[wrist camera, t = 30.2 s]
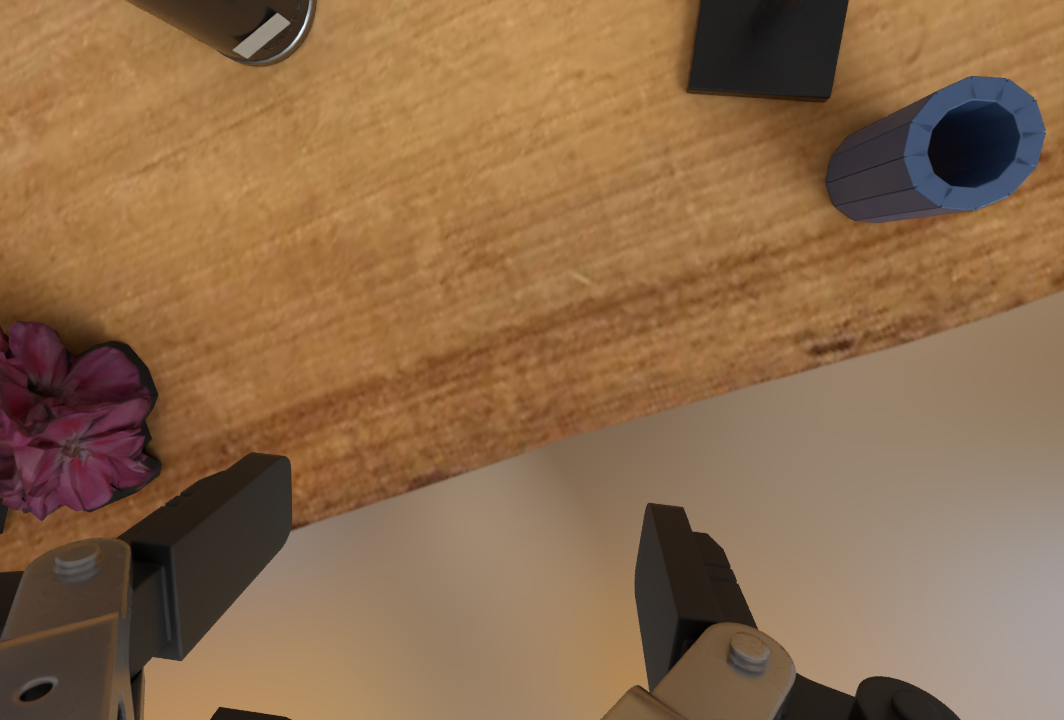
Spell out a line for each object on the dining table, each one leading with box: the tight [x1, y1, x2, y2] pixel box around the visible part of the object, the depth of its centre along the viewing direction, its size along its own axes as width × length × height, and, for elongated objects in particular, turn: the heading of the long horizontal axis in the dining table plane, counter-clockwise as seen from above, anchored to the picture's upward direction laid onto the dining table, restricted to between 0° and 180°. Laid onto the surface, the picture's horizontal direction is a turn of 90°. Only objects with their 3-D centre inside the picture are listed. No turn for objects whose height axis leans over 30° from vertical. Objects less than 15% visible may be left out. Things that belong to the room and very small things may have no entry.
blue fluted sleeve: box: [826, 76, 1046, 223], centre depth 32 cm, size 6×6×10 cm
